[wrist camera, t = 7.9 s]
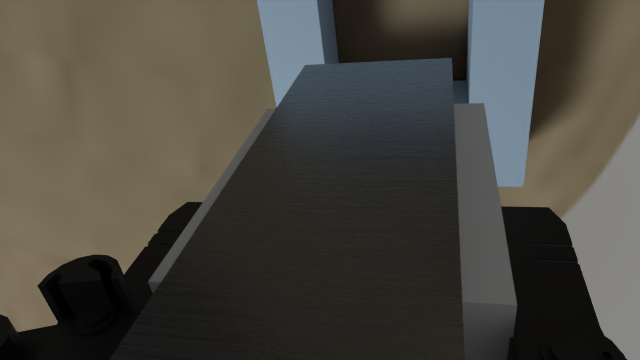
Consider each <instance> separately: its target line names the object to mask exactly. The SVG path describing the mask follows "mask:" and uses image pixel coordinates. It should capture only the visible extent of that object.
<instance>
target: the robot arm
mask: <svg viewBox="0 0 640 360" xmlns="http://www.w3.org/2000/svg"><path fill="white" fill-rule="evenodd" d="M274 111H275V109H267V111H266V112H265V114H264V115H263V116H262V118H261V119H260V121H259V122H258V124H257V125H256V127H255V128H254V129H253V131H252V132H251V134H250V135H249V137H248V138H247V140H246V141H245V142H244V144H243V145H242V147H241V148H240V150H239V151H238V153H237V154H236V155H235V157H234V158H233V160H232V161H231V163H230V164H229V165H228V167H227V168H226V170H225V171H224V173H223V174H222V176H221V177H220V178H219V180H218V181H217V183H216V184H215V186H214V187H213V189H212V190H211V191H210V193H209V194H208V196H207V197H206V199H205V200H204V202H187V203H186V204H184V205H183V206H181V207H180V208H179V209H177V210H176V211H174V212H173V213H172V214H170V215H169V216H168V218H167V219H166V220H165V221H164V223H163V224H162V225H161V227H160V228H159V229H158V233H157V234H155V235H154V236H153V237H152V239H151V240H150V241H149V242H148V247H145V248H144V249H143V250H142V252H141V253H140V254H139V256H138V257H137V258H136V260H135V261H134V262H133V263H132V265H131V266H130V267H129V269H128V270H127V271H126V273H125V274H123V272H122V270H121V268H120V266H119V263H118V261H117V260H116V259H114V258H112V257H110V256H108V255H90V256H85V257H81V258H77V259H75V260H73V261H70V262H68V263H66V264H63V265H61V266H60V267H58V268H57V269H55V270H54V271H53V272H51V273H50V274H48V275H47V276H46V277H45V278H44V279H43V280H42V281H41V283H40V284H39V285H38V288H39V289H40V291H41V293H42V295H43V296H44V298H45V300H46V302H47V303H48V305H49V307H50V309H51V310H52V312H53V314H54V316H55V317H56V319H57V321H58V323H57V325H53V326H48V327H43V328H38V329H32V330H27V331H22V332H17V331H16V330H15V328H14V326H13V325H12V323H11V322H10V320H9V319H8V317H5V316H3V315H0V360H110V358H111V357H112V355H113V354H114V352H115V351H116V349H117V348H118V346H119V345H120V343H121V342H122V340H123V339H124V337H125V336H126V334H127V333H128V331H129V330H130V328H131V327H132V325H133V324H134V322H135V321H136V319H137V318H138V316H139V315H140V313H141V312H142V310H143V309H144V307H145V306H146V304H147V302H148V301H149V299H150V298H151V296H152V295H153V293H154V292H155V290H156V289H157V287H158V286H159V284H160V283H161V281H162V280H163V278H164V277H165V275H166V274H167V272H168V271H169V269H170V268H171V266H172V265H173V263H174V262H175V260H176V259H177V257H178V256H179V254H180V253H181V251H182V250H183V248H184V247H185V245H186V244H187V242H188V241H189V239H190V238H191V236H192V235H193V233H194V232H195V230H196V229H197V227H198V226H199V224H200V223H201V221H202V220H203V218H204V217H205V215H206V213H207V212H208V210H209V209H210V207H211V206H212V204H213V203H214V201H215V200H216V198H217V197H218V195H219V194H220V192H221V191H222V189H223V188H224V186H225V185H226V183H227V182H228V180H229V179H230V177H231V176H232V174H233V173H234V171H235V170H236V168H237V167H238V165H239V164H240V162H241V161H242V159H243V158H244V156H245V155H246V153H247V152H248V150H249V149H250V147H251V146H252V144H253V143H254V141H255V140H256V138H257V137H258V135H259V134H260V132H261V131H262V129H263V128H264V126H265V125H266V123H267V121H268V120H269V118H270V117H271V115H272V114H273V112H274ZM454 121H455V144H456V167H457V190H458V213H459V237H460V260H461V283H462V306H463V329H464V352H465V360H627V359H626V358H625V356H624V354H623V353H622V352H621V351H620V350H619V349H618V348H617V346H616V345H615V344H614V343H613V342H612V341H611V340H610V339H608V338H607V337H605V336H604V334H603V332H602V330H601V328H600V326H599V322H598V319H597V316H596V313H595V311H594V307H593V304H592V301H591V298H590V296H589V292H588V289H587V286H586V283H585V280H584V278H583V275H582V271H581V268H580V265H579V264H578V259H577V256H576V254H575V251H574V248H573V247H572V241H571V238H570V235H569V232H568V230H567V226H566V224H565V223H564V222H563V221H562V220H561V219H560V218H559V217H558V216H557V215H556V214H555V213H554V212H553V211H552V210H551V209H550V208H549V207H501V204H500V198H499V192H498V185H497V179H496V173H495V167H494V161H493V155H492V149H491V143H490V137H489V131H488V125H487V118H486V112H485V106H484V103H468V104H454Z"/></svg>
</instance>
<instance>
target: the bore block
mask: <svg viewBox="0 0 640 360" xmlns="http://www.w3.org/2000/svg"><path fill="white" fill-rule="evenodd" d="M257 3H258V9H259V14H260V20H261V25H262V31H263V36H264V41H265V47H266V52H267V58H268V63H269V68H270V74H271V79H272V85H273V90H274V96H275V101H276V106H278V105H279V103H280V102H281V100H282V99H283V97H284V96H285V94H286V93H287V91H288V90H289V88H290V87H291V85H292V84H293V82H294V81H295V79H296V78H297V76H298V75H299V73H300V72H301V70H302V69H303V67H304V66H305V65H316V64H336V63H339V59H338V49H337V40H336V31H335V21H334V12H333V2H332V0H257ZM543 9H544V0H469V14H468V41H467V69H466V80H463V81H453V98H454V104H468V103H484V106H485V112H486V118H487V125H488V131H489V137H490V143H491V149H492V155H493V161H494V167H495V173H496V179H497V185H498V186H517V187H523V183H524V175H525V166H526V157H527V149H528V140H529V131H530V122H531V114H532V105H533V96H534V88H535V79H536V70H537V61H538V53H539V44H540V35H541V27H542V18H543Z"/></svg>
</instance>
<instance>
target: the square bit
mask: <svg viewBox="0 0 640 360" xmlns="http://www.w3.org/2000/svg"><path fill="white" fill-rule="evenodd" d="M110 360H465V352H464V329H463V306H462V283H461V260H460V237H459V213H458V190H457V167H456V144H455V121H454V98H453V74H452V58H439V59H418V60H398V61H377V62H357V63H336V64H316V65H305V66H304V67H303V69H302V70H301V72H300V73H299V75H298V76H297V78H296V79H295V81H294V82H293V84H292V85H291V87H290V88H289V90H288V91H287V93H286V94H285V96H284V97H283V99H282V100H281V102H280V103H279V105H278V106H277V108H276V109H275V111H274V112H273V114H272V115H271V117H270V118H269V120H268V121H267V123H266V125H265V126H264V128H263V129H262V131H261V132H260V134H259V135H258V137H257V138H256V140H255V141H254V143H253V144H252V146H251V147H250V149H249V150H248V152H247V153H246V155H245V156H244V158H243V159H242V161H241V162H240V164H239V165H238V167H237V168H236V170H235V171H234V173H233V174H232V176H231V177H230V179H229V180H228V182H227V183H226V185H225V186H224V188H223V189H222V191H221V192H220V194H219V195H218V197H217V198H216V200H215V201H214V203H213V204H212V206H211V207H210V209H209V210H208V212H207V213H206V215H205V217H204V218H203V220H202V221H201V223H200V224H199V226H198V227H197V229H196V230H195V232H194V233H193V235H192V236H191V238H190V239H189V241H188V242H187V244H186V245H185V247H184V248H183V250H182V251H181V253H180V254H179V256H178V257H177V259H176V260H175V262H174V263H173V265H172V266H171V268H170V269H169V271H168V272H167V274H166V275H165V277H164V278H163V280H162V281H161V283H160V284H159V286H158V287H157V289H156V290H155V292H154V293H153V295H152V296H151V298H150V299H149V301H148V302H147V304H146V306H145V307H144V309H143V310H142V312H141V313H140V315H139V316H138V318H137V319H136V321H135V322H134V324H133V325H132V327H131V328H130V330H129V331H128V333H127V334H126V336H125V337H124V339H123V340H122V342H121V343H120V345H119V346H118V348H117V349H116V351H115V352H114V354H113V355H112V357H111V358H110Z"/></svg>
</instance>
